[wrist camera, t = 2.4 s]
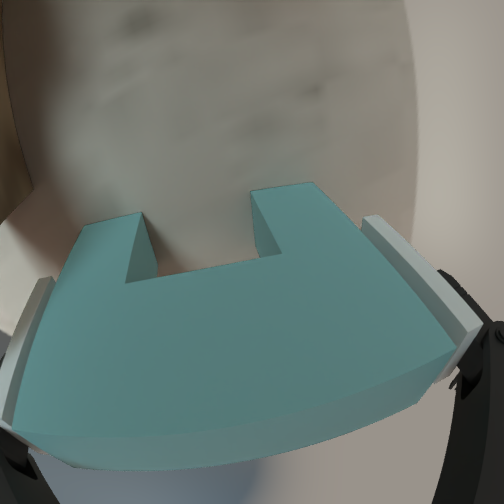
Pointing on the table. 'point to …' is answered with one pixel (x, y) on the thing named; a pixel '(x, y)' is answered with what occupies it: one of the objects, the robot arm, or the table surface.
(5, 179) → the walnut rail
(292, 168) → the table surface
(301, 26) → the table surface
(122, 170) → the table surface
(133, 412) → the notched teal block
